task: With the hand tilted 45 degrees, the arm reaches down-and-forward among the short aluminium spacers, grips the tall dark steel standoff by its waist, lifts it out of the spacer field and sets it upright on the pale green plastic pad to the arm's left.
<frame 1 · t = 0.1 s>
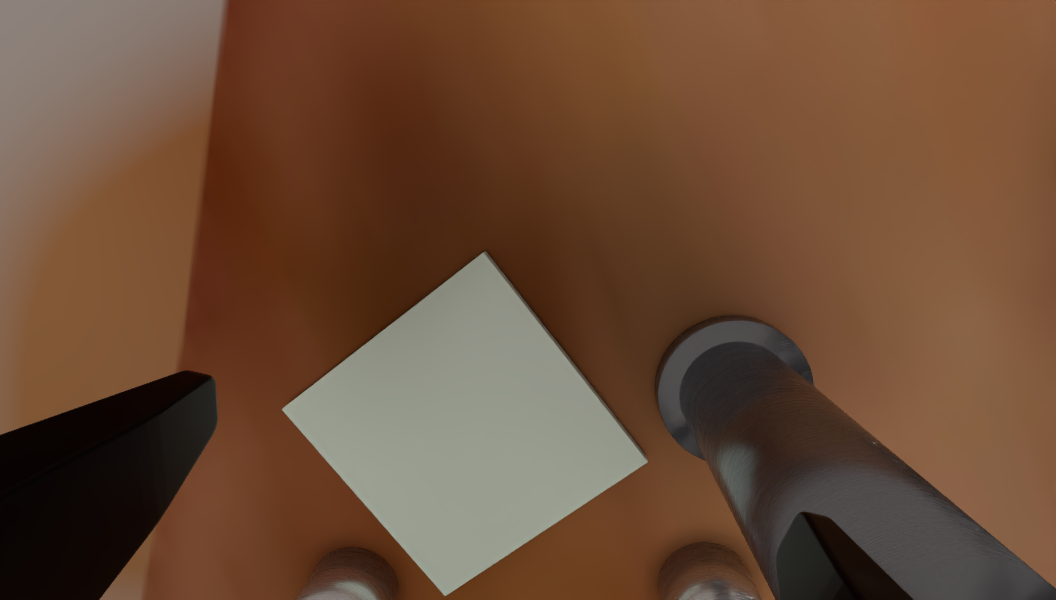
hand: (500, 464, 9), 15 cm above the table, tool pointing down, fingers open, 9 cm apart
pad: (465, 429, 26), on the table
standoff: (728, 386, 25), on the table
spacer c: (355, 585, 28), on the table
spacer a: (703, 582, 26), on the table
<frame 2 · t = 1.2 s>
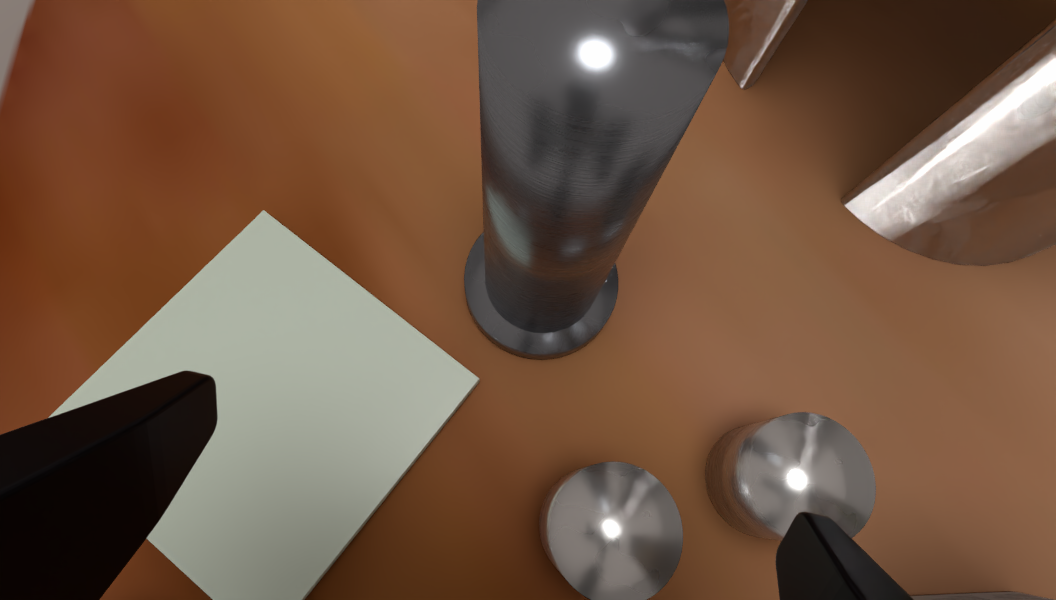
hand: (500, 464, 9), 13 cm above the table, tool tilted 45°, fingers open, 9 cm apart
pad: (269, 407, 22), on the table
grey metal tall arch: (937, 53, 29), on the table
standoff: (539, 286, 24), on the table
spacer b: (757, 480, 22), on the table
spacer a: (594, 524, 21), on the table
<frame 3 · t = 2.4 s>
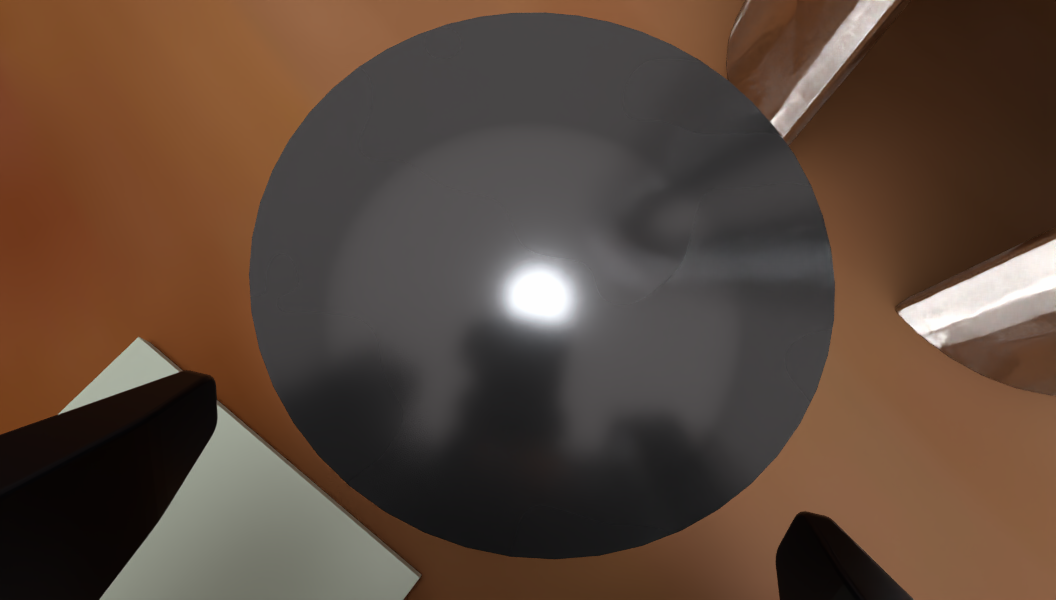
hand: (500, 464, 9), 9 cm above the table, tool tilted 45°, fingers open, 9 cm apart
grey metal tall arch: (1006, 112, 24), on the table
standoff: (505, 435, 18), on the table
when the fingers open (9 cm above the table, at t = 6.9 s): standoff drops 1 cm, resting on pad.
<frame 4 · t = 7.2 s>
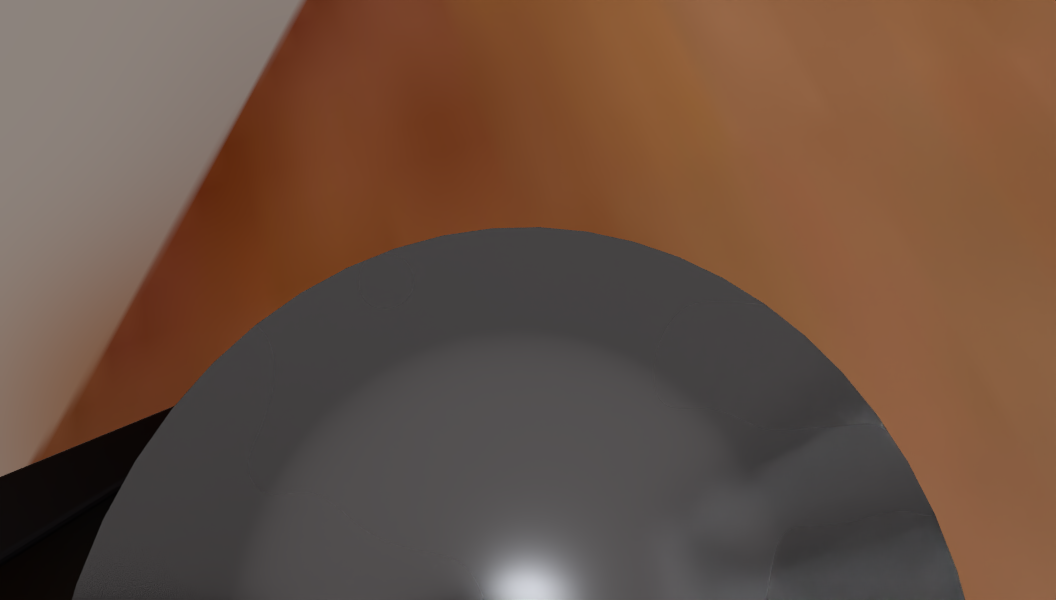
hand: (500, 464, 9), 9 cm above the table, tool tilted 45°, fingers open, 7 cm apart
standoff: (485, 530, 16), point 1 cm above the table, touching pad
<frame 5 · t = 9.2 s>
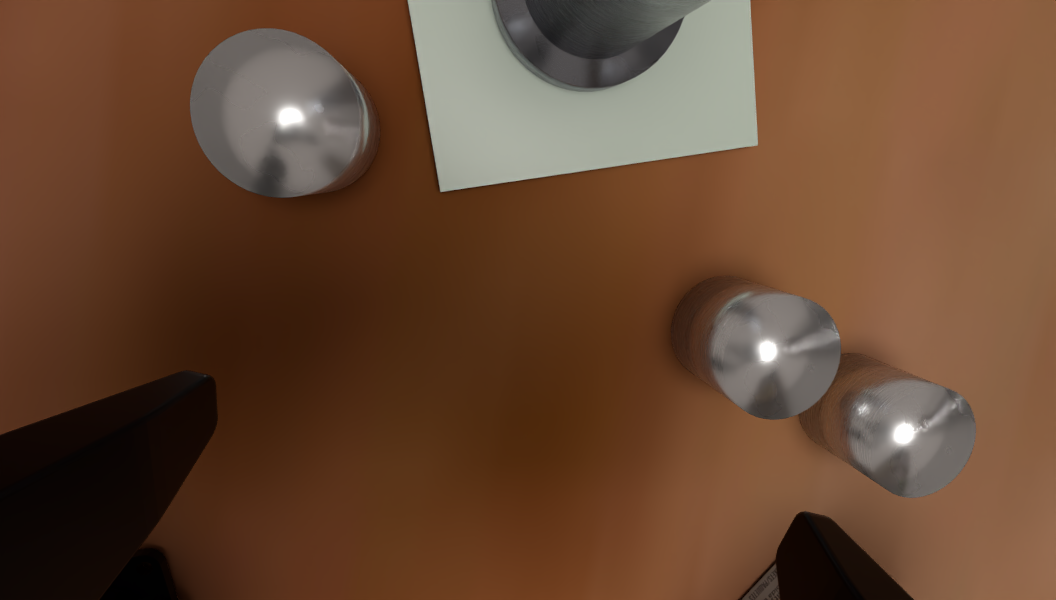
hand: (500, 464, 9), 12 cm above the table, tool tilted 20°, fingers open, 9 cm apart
spacer b: (843, 400, 24), on the table
spacer c: (314, 127, 19), on the table
spacer a: (720, 328, 22), on the table
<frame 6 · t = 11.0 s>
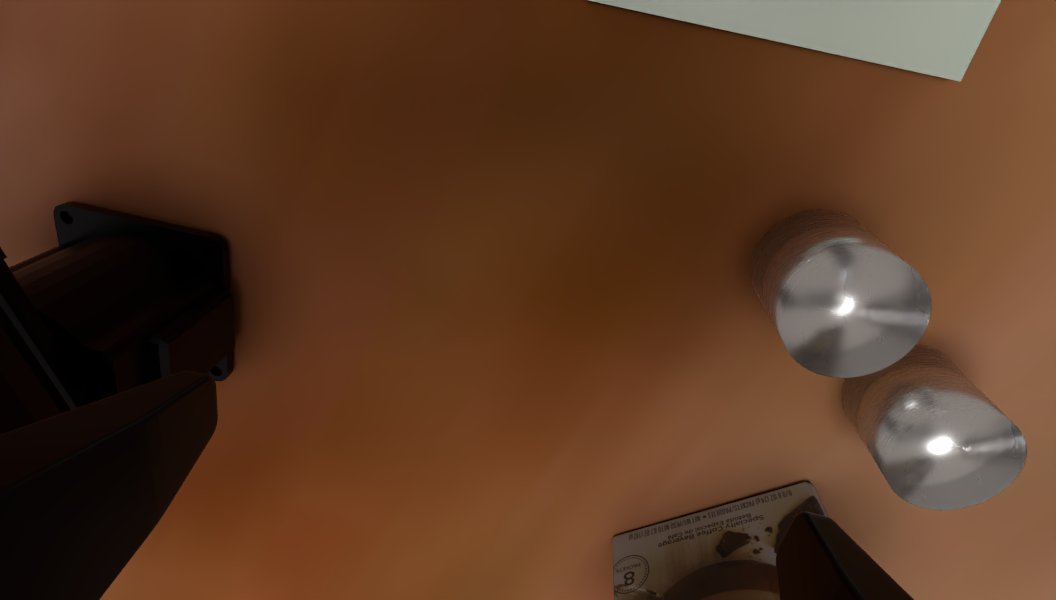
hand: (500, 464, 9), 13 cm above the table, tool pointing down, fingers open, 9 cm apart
coffee box: (727, 550, 27), on the table
spacer b: (898, 390, 22), on the table
spacer a: (810, 265, 21), on the table
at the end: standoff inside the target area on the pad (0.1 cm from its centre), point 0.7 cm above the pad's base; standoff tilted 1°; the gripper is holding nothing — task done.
